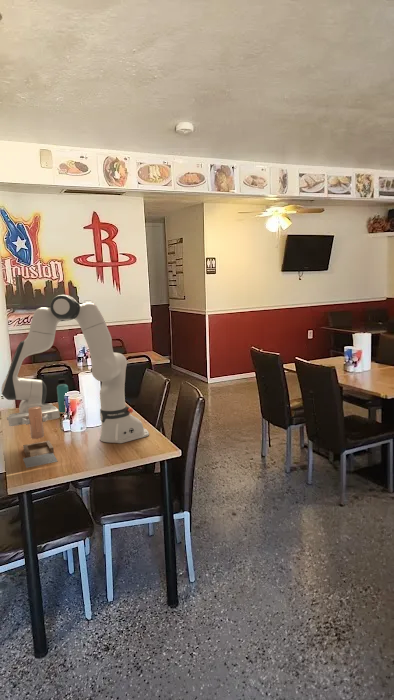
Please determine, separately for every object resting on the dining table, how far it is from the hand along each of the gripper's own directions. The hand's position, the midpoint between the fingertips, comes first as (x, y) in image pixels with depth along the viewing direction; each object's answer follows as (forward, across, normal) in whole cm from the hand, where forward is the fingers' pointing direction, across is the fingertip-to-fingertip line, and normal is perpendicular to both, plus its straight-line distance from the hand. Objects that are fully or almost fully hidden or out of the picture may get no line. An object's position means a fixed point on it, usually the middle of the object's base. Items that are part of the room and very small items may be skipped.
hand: (36, 421), depth 187 cm
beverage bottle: (-69, +22, +17) cm, 75 cm away
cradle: (-12, +1, +17) cm, 21 cm away
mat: (0, 0, +17) cm, 17 cm away
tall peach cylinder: (+1, 0, +7) cm, 7 cm away
